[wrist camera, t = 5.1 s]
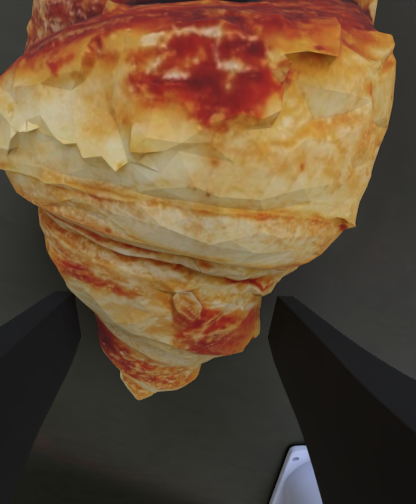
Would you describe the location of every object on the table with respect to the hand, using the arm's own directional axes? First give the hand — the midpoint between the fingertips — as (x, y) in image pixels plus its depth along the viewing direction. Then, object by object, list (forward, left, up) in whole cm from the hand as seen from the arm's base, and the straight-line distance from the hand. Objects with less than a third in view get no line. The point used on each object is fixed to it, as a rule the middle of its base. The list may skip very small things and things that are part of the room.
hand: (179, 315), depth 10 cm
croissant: (+5, 0, -3) cm, 6 cm away
